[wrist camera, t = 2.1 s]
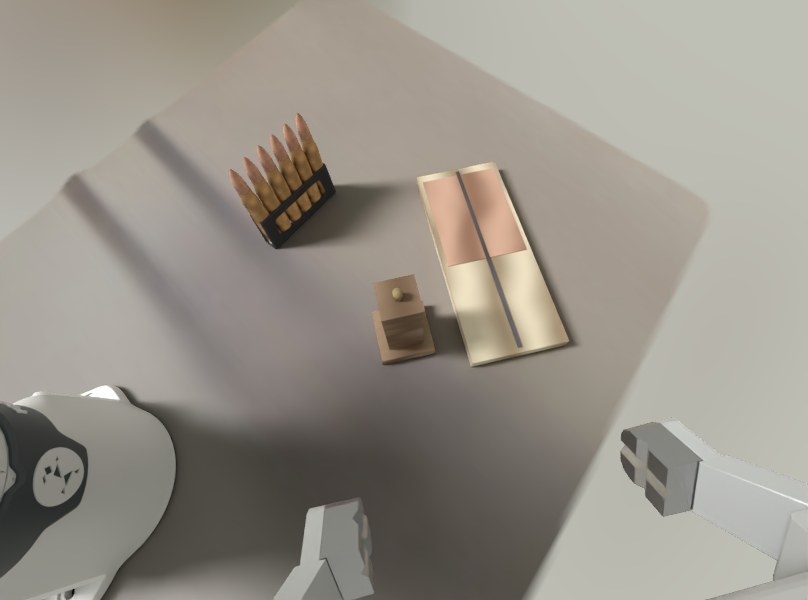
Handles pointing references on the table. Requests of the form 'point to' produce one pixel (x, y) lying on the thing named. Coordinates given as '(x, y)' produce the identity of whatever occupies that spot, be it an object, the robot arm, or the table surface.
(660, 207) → the table surface
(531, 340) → the maple board
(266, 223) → the ammunition clip
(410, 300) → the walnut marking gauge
